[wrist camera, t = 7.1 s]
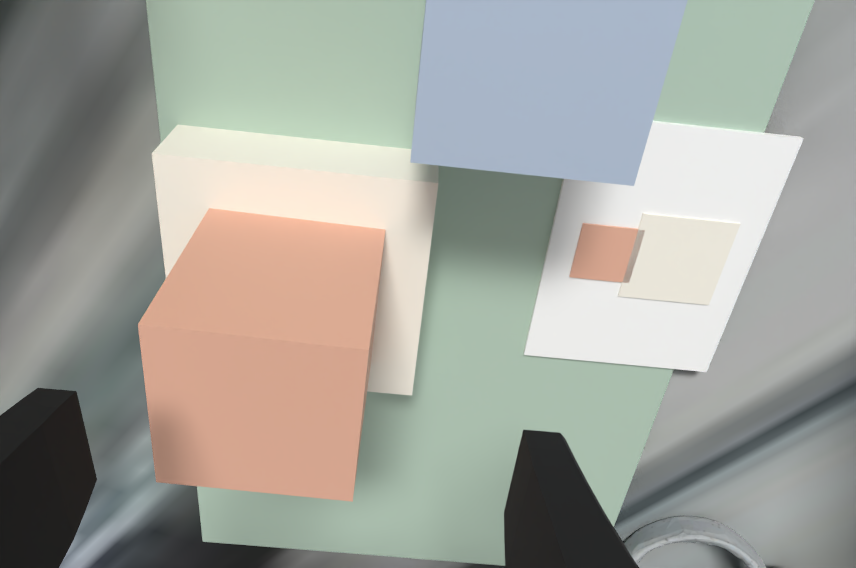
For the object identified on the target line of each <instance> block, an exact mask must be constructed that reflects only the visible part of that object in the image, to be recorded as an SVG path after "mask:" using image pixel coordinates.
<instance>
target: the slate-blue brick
mask: <svg viewBox="0 0 856 568" xmlns="http://www.w3.org/2000/svg"><path fill="white" fill-rule="evenodd" d="M687 1H688V0H426V3H425V13H424V23H423V33H422V43H421V54H420V64H419V74H418V84H417V95H416V106H415V117H414V128H413V138H412V149H411V160H410V163H419V164H429V165H438V166H448V167H457V168H467V169H477V170H486V171H496V172H505V173H515V174H524V175H534V176H543V177H553V178H562V179H572V180H581V181H591V182H600V183H610V184H619V185H629V186H634V184H635V181H636V177H637V174H638V170H639V167H640V163H641V160H642V157H643V153H644V150H645V146H646V143H647V139H648V136H649V132H650V129H651V125H652V122H653V118H654V115H655V112H656V108H657V105H658V101H659V98H660V94H661V91H662V87H663V84H664V80H665V77H666V74H667V70H668V67H669V63H670V60H671V56H672V53H673V49H674V46H675V42H676V39H677V35H678V32H679V29H680V25H681V22H682V18H683V15H684V11H685V8H686V4H687Z"/></svg>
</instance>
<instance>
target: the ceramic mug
mask: <svg viewBox="0 0 856 568" xmlns="http://www.w3.org/2000/svg"><path fill="white" fill-rule="evenodd" d="M677 542H691V543H695V542H701V543H706V544H708V545H717V546H720V547H722V548H725V549H727V550H728V551H729V552H731V553H732V554H734V555H735V556H736V557H738V558H740V559H742V560H743V561H744V563H745V564H746V565H747V567H748V568H766V566H765V564H764V562H763V560H762V559H761V557H760V556H759V555H758V553H757V552H756V551H755V550H754V549H753V548H752V547H751V546H750V545H749V544H748V543H747V541H746V540H745V539H744V538H743V537H742V536H740V535H739V534H738V533H736V532H735V531H734V530H732V529H731V528H729V527H727V526H726V525H724V524H722V523H719V522H717V521H714V520H711V519H708V518H701V517H694V516H677V517H668V518H665V519H662V520H658V521H656V522H654V523H651V524H649V525H646V526H644V527H642V528H640V529H639V530H637V531H636V532H635V533H634V534H633V535H632V536H630V537H629V538H628V539H627V540H626V542H625V543H624V545H625V546H626V548H627V550H628V551H629V553H630V555H631V556H632V558H633V559H634V561H635V562H636V564H638V563H639V562H640V560H641V559H642V558H643V556H644V555H645V554H646V553H647V552H649V551H651V550H653V549H654V548H656V547H661V546H662V545H667V544H670V543H677Z"/></svg>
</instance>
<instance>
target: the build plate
mask: <svg viewBox="0 0 856 568" xmlns="http://www.w3.org/2000/svg"><path fill="white" fill-rule="evenodd" d="M814 1H815V0H688V1H687V4H686V8H685V11H684V15H683V18H682V22H681V25H680V29H679V32H678V35H677V39H676V42H675V46H674V49H673V53H672V56H671V60H670V63H669V67H668V70H667V74H666V77H665V80H664V84H663V87H662V91H661V94H660V98H659V101H658V105H657V108H656V112H655V115H654V118H653V121H661V122H670V123H679V124H688V125H698V126H707V127H716V128H725V129H734V130H743V131H752V132H762V133H764V132H765V129H766V127H767V124H768V121H769V119H770V116H771V113H772V111H773V108H774V106H775V103H776V100H777V98H778V95H779V92H780V90H781V87H782V85H783V82H784V79H785V77H786V74H787V72H788V69H789V66H790V64H791V61H792V58H793V56H794V53H795V51H796V48H797V45H798V43H799V40H800V37H801V35H802V32H803V30H804V27H805V24H806V22H807V19H808V17H809V14H810V11H811V9H812V6H813V3H814ZM425 3H426V0H146V7H147V17H148V26H149V36H150V45H151V55H152V64H153V73H154V83H155V92H156V102H157V111H158V121H159V130H160V140H161V143H162V141H163V140H164V139H165V138H166V137H167V136H168V135H169V134H170V132H171V131H172V130H173V129H174V128H175V127H176V126H177V125H188V126H197V127H207V128H216V129H225V130H235V131H244V132H254V133H263V134H273V135H282V136H292V137H301V138H311V139H320V140H329V141H339V142H348V143H358V144H367V145H377V146H386V147H396V148H405V149H412V138H413V128H414V117H415V106H416V95H417V84H418V74H419V64H420V54H421V43H422V33H423V23H424V13H425ZM562 181H563V179H562V178H553V177H543V176H534V175H524V174H515V173H505V172H496V171H486V170H477V169H467V168H457V167H448V166H439V173H438V191H437V199H436V207H435V215H434V223H433V231H432V239H431V247H430V255H429V263H428V271H427V279H426V287H425V295H424V303H423V311H422V319H421V327H420V335H419V344H418V352H417V360H416V368H415V376H414V384H413V392H412V395H401V394H390V393H379V392H368V391H367V396H366V404H365V412H364V419H363V427H362V435H361V442H360V450H359V457H358V465H357V473H356V480H355V488H354V496H353V502H351V501H341V500H331V499H321V498H311V497H301V496H291V495H281V494H271V493H261V492H251V491H241V490H231V489H220V488H210V487H200V486H197V491H198V501H199V510H200V520H201V529H202V539H203V542H215V543H227V544H240V545H252V546H265V547H277V548H290V549H302V550H315V551H327V552H340V553H352V554H365V555H377V556H390V557H402V558H415V559H427V560H440V561H452V562H465V563H477V564H490V565H502V566H505V544H504V510H505V506H506V501H507V497H508V493H509V488H510V484H511V480H512V475H513V471H514V467H515V463H516V458H517V454H518V450H519V445H520V441H521V437H522V433H523V430H535V431H547V432H558V433H561V434H562V435H563V436H564V438H565V439H566V441H567V443H568V445H569V447H570V449H571V451H572V453H573V455H574V457H575V459H576V461H577V463H578V465H579V467H580V469H581V471H582V472H583V474H584V476H585V478H586V480H587V482H588V484H589V485H590V487H591V489H592V491H593V493H594V494H595V496H596V498H597V500H598V502H599V503H600V505H601V507H602V509H603V510H604V512H605V514H606V515H607V517H608V519H609V520H610V522H611V524H612V525H613V527H614V525H615V522H616V519H617V517H618V514H619V512H620V509H621V506H622V504H623V501H624V499H625V496H626V493H627V491H628V488H629V485H630V483H631V480H632V478H633V475H634V472H635V470H636V467H637V464H638V462H639V459H640V457H641V454H642V451H643V449H644V446H645V444H646V441H647V438H648V436H649V433H650V430H651V428H652V425H653V423H654V420H655V417H656V415H657V412H658V409H659V407H660V404H661V402H662V399H663V396H664V394H665V391H666V388H667V386H668V383H669V381H670V378H671V375H672V373H673V370H674V369H669V368H658V367H648V366H637V365H626V364H615V363H605V362H594V361H583V360H573V359H562V358H551V357H541V356H530V355H524V347H525V343H526V339H527V334H528V330H529V326H530V321H531V317H532V312H533V308H534V304H535V299H536V295H537V290H538V286H539V282H540V277H541V273H542V269H543V264H544V260H545V255H546V251H547V247H548V242H549V238H550V233H551V229H552V225H553V220H554V216H555V212H556V207H557V203H558V198H559V194H560V190H561V185H562Z"/></svg>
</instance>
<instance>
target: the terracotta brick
mask: <svg viewBox="0 0 856 568" xmlns="http://www.w3.org/2000/svg"><path fill="white" fill-rule="evenodd" d="M384 239H385V229H377V228H369V227H361V226H352V225H344V224H336V223H328V222H319V221H311V220H303V219H295V218H287V217H278V216H270V215H262V214H254V213H245V212H237V211H229V210H221V209H213V208H209V209H208V211H207V212H206V214H205V216H204V217H203V219H202V221H201V222H200V224H199V225H198V227H197V229H196V230H195V232H194V234H193V235H192V237H191V239H190V240H189V242H188V243H187V245H186V247H185V248H184V250H183V252H182V253H181V255H180V257H179V258H178V260H177V261H176V263H175V265H174V266H173V268H172V270H171V271H170V273H169V275H168V276H167V278H166V279H165V281H164V283H163V284H162V286H161V288H160V289H159V291H158V293H157V294H156V296H155V297H154V299H153V301H152V302H151V304H150V306H149V307H148V309H147V311H146V312H145V314H144V315H143V317H142V319H141V320H140V322H139V324H138V328H139V337H140V346H141V354H142V363H143V372H144V380H145V389H146V398H147V406H148V415H149V423H150V432H151V441H152V449H153V458H154V467H155V475H156V482H160V483H170V484H180V485H190V486H200V487H210V488H220V489H231V490H241V491H251V492H261V493H271V494H281V495H291V496H301V497H311V498H321V499H331V500H341V501H351V502H353V496H354V488H355V480H356V473H357V465H358V457H359V450H360V442H361V435H362V427H363V419H364V412H365V404H366V396H367V389H368V381H369V374H370V366H371V357H372V348H373V339H374V330H375V321H376V312H377V303H378V294H379V285H380V276H381V267H382V258H383V248H384Z"/></svg>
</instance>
